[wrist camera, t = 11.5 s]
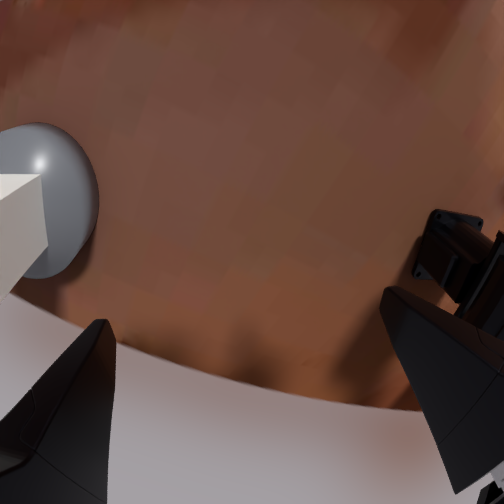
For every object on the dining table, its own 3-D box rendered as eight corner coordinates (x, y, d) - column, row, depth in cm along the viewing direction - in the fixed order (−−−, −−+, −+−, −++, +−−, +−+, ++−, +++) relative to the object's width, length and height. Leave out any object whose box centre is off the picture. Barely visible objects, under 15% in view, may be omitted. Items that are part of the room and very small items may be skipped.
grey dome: (97, 116, 17) (77, 121, 15) (106, 262, 22) (93, 285, 20) (-18, 131, 16) (-41, 139, 13) (1, 254, 21) (-16, 272, 18)
